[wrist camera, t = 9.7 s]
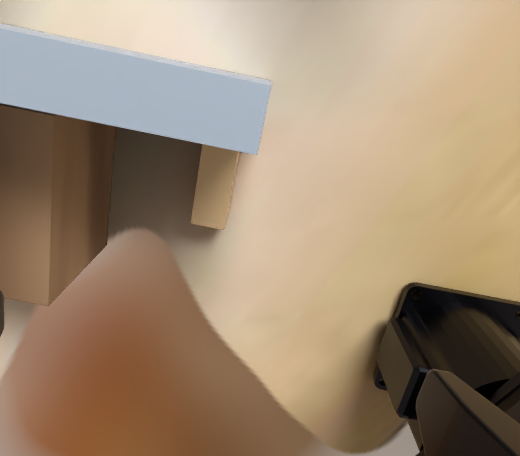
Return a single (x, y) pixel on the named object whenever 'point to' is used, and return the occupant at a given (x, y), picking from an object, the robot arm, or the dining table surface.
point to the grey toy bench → (141, 102)
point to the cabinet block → (51, 200)
